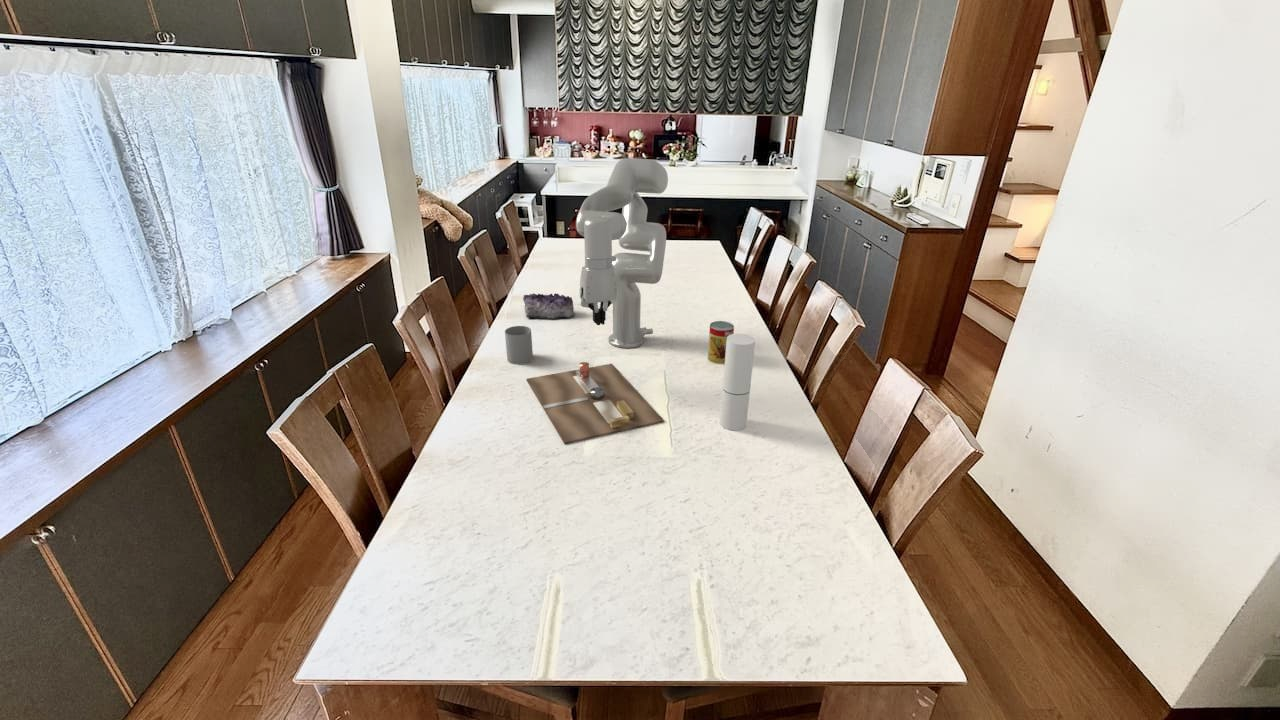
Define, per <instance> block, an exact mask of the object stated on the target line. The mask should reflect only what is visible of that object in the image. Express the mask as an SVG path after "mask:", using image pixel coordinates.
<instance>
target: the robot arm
mask: <svg viewBox="0 0 1280 720" xmlns="http://www.w3.org/2000/svg"><path fill="white" fill-rule="evenodd" d="M668 183H669V176H668V172H667V170H666V168H665V167H664V166H663V165H662V164H661V163H660V162H659V161H656V160H654V159H648V158H647V159H646V158H631V157H630V158H622V159H620V160H619V161H617V162H616V164H615V166H614V167H613V169H612V172H611V174H610V177H609V179H608V182H607V184H606V186H604V187H602V188H600V189H598V190H596V191H595V192H593V193H591V194H590V195H589V196H587V197H586V198H585V199H584V201H583V203H582V204H581V206H580V209H579V210H578V212H577V215H576V220H575V227H576V231H577V233H578V234H579V235H580V236H582V237H583V238H584V240H583V241H584V266H582V267H581V271H580V280H579V298H580V303H579V305H580V306H581V307H583V308H589V309H590V310H592V321H593V323H595V324H596V325H597V326H601V325H603V326H604V325H605V323H606V322H605V321H606V320H607V319H606V317H607V316H606V315H607V314H606V312H607V311H608V309H609V307H610V306H611V304H612V334H610V335H609V336H608V342H609V344H610V345H612V346H614V347H616V348H621V349H630V348H631V349H632V348H637V347H639V346H642V345H643V344H644V342H645V336H646V335H652V334H653V333H654V329H653V328H647V327H646V326H645V327H641V306H642V305H641V302H642V301H641V299H642V297H641V295H642V294H641V291H640V288H639V287H638V285H637V284H647V285H648V284H649V285H655V284H658V283H659V282H660V280H661V279H662V274H663V268H664V262H665V261H664V260H665V255H666V254H665V252H666V245H667V231H666V227H664V225H663V224H661V223H658V222H649V221H647V218H648V210H649V209H648V206H647V204H646V203H645V201H644V199H643V198H642V197H641V195H640V194H639V193H642V194H659V195H660V194H663V193H664V192H665V191H666V189H667V187H668V185H669V184H668ZM621 208H622V209H621ZM619 209H621V210H622V211H621V213H620V212H615V210H619ZM617 240H618V244H619V246H620V247H621V248H622V249H625V250H628V251H637V252H639V251H640V252H649V254H643V253H637V252H634V253H633V252H619V253H615V254H614V255H613V253H612V251H613V245H612V244H613V241H617ZM636 283H637V284H636ZM598 303H599V304H598Z"/></svg>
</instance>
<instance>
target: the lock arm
mask: <svg viewBox="0 0 1280 720" xmlns="http://www.w3.org/2000/svg"><path fill="white" fill-rule="evenodd" d="M589 368H590V363H589V362H587V361H583V362H580V363H579V369H580V371H576V375H577V376H578V378H579V379H580V380H581V382H582V383H583V384H584V386H585V387H586V388H587V389H588V391H589V392H590V395H591V398H593V399H602V398H604V389H603V388H600V387H599V386H598V385H597V384H596V383H595V382H594V380H593V379H592V378H591V377H590V375H589Z"/></svg>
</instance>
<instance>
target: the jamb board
mask: <svg viewBox="0 0 1280 720" xmlns="http://www.w3.org/2000/svg"><path fill="white" fill-rule="evenodd" d="M576 371H580V368H578V369H573V370H568V371H563V372H557V373H551V374H545V375H539V376H534V377H529V378H526V382H527V384H528V385H529V387H530V389H531V390H532V392H533V394H534V396H535V397H536V398H537V401H538V402H539V403H540V405H541V407H542V409H543V411H544V412H545V413H546V416H547V417H548V419H549V420H550V422H551V423H552V425H553V427H554V428H555V431H556V432H557V434H558V436H559V437H560V438H561V441H562V442H563V444H564V445H568V444H571V443H575V442H576V443H577V442H580V441H584V440H590V439H594V438H599V437H603V436H607V435H611V434H616V433H621V432H625V431H630V430H635V429H637V428H644V427H648V426H652V425H655V424H660V423H664V419H663V418H662V416H661V415H660V414H659V413H658V412H657V411H656V410H655V409H654V408H653V407H652V406H651V405H650V404H649V402H648V401H647V400H646V399H645V398H644V397H643V396H642V395H641V393H639V392H638V390H637V389H636V388H635V387H634V386H633V384H631V382H629V381H628V379H627V378H626V377H625V376H623V374H622V373H621V372H620V371H619V370H618V368H616V366H615V365H614V364H613V363H607V364H601V365H596V366H595V365H594V366H589V375H590V377H591V378H592V379H593V380H594V382H595V383H596V384H597V385H598V386H599V387H600V388H603V389H604V398H602V399H593V398H591V395H590V392H589V391H588V389H587V388H586V387H585V386H584V384H583V383H582V382H581V380H580V379H579V378H578V376H577V375H576Z"/></svg>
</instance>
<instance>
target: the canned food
mask: <svg viewBox="0 0 1280 720" xmlns="http://www.w3.org/2000/svg"><path fill="white" fill-rule="evenodd" d="M708 331H709V334H708V344H707V345H708V346H707V360H708V361H709V362H710V363H713V364H717V365H718V364H719V365H722V364H723V365H725V354H726V343H727V337H728V336H729V335H731V334H735V333H734V332H735V325H734V324H733V323H732V322H728V321H724V320H716V321H713V322H711V323H710V324H709V330H708Z"/></svg>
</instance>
